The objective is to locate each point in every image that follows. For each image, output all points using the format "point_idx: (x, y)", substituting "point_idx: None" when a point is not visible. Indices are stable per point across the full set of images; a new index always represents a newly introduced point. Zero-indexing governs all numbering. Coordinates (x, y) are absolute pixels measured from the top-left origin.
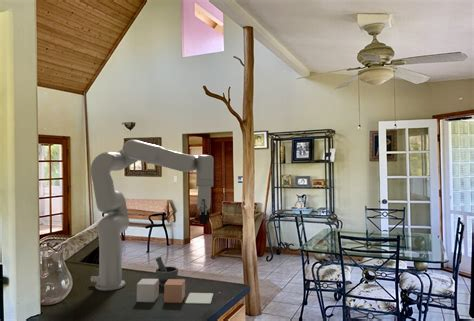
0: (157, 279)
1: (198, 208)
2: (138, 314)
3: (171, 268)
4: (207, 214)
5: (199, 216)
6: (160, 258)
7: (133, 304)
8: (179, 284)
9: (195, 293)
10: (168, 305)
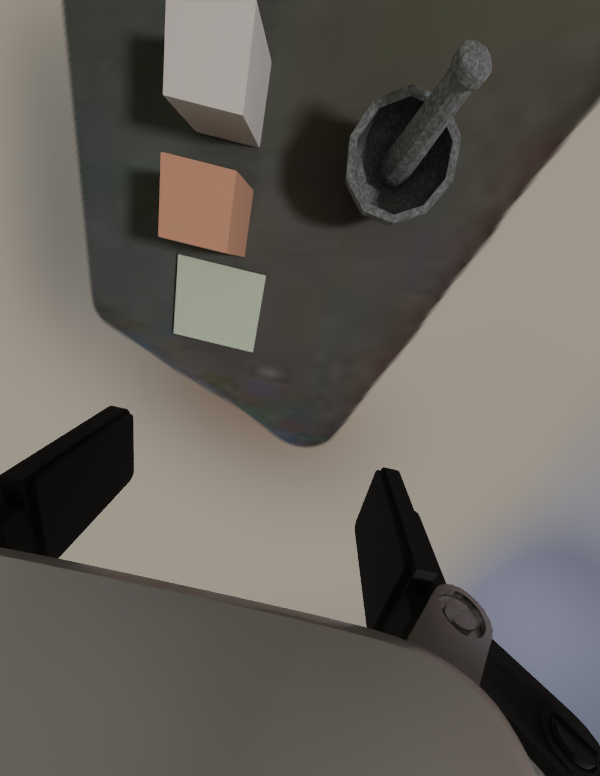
0: (235, 107)
1: (56, 578)
2: (85, 72)
3: (436, 187)
4: (370, 581)
5: (30, 456)
6: (457, 79)
7: None
8: (163, 226)
9: (257, 295)
10: None
